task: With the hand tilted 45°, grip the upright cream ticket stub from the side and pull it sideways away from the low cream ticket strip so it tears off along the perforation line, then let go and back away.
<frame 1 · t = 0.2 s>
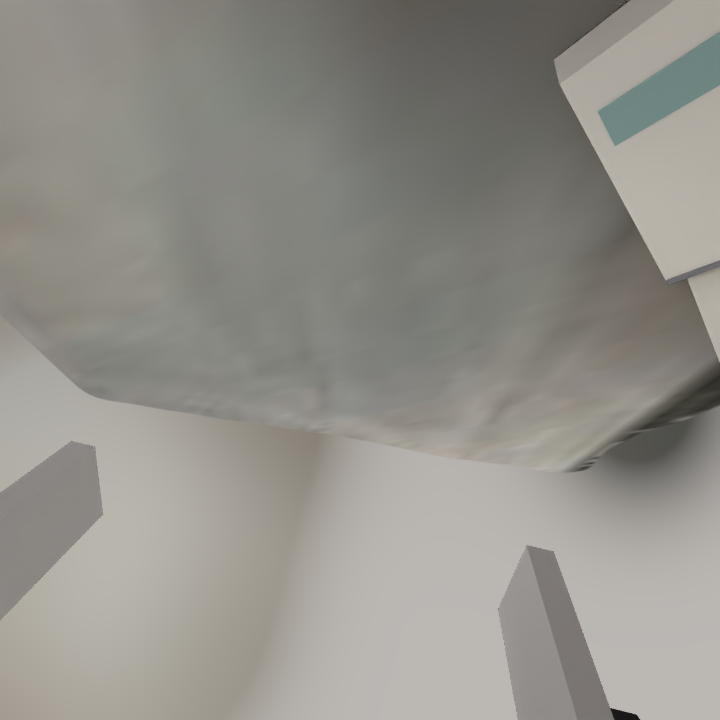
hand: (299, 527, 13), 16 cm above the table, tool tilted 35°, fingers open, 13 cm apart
strip: (696, 130, 17), on the table
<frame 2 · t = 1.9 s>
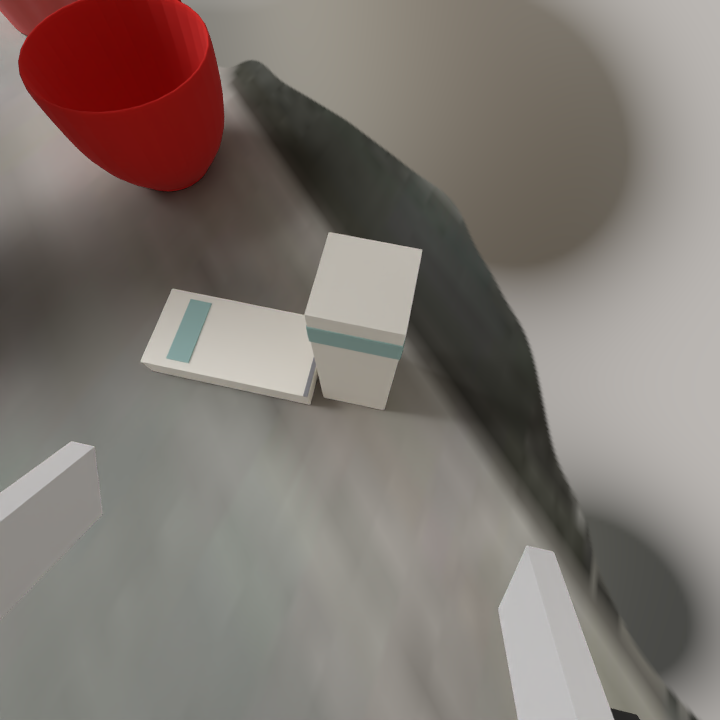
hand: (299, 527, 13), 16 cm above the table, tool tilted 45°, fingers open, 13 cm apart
strip: (243, 350, 31), on the table
ceramic cup: (180, 149, 39), on the table
stub: (362, 339, 25), point 6 cm above the table, slide at 0.0 cm
flower pot: (52, 19, 45), on the table
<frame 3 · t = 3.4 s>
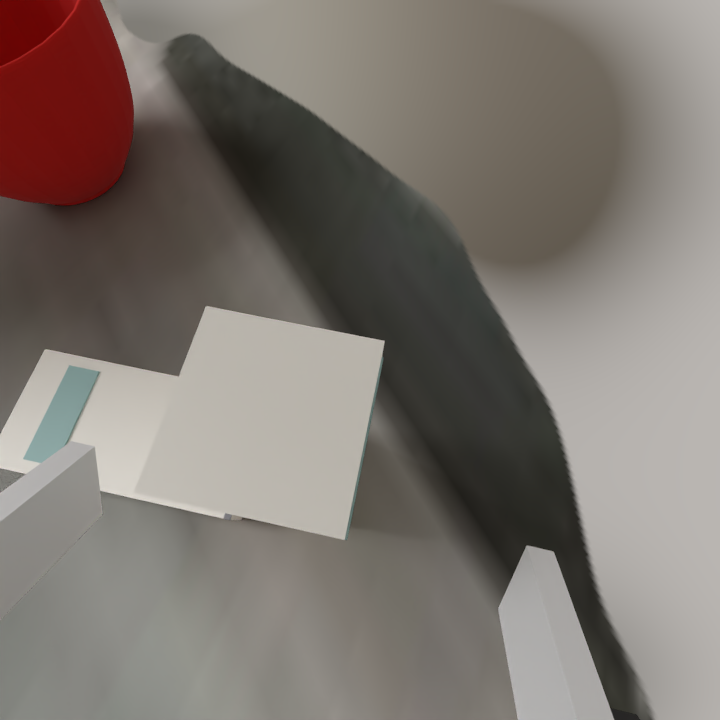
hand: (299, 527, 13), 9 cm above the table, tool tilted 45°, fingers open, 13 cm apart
strip: (150, 436, 22), on the table
ceramic cup: (88, 148, 29), on the table
stub: (301, 453, 15), point 6 cm above the table, slide at 0.0 cm
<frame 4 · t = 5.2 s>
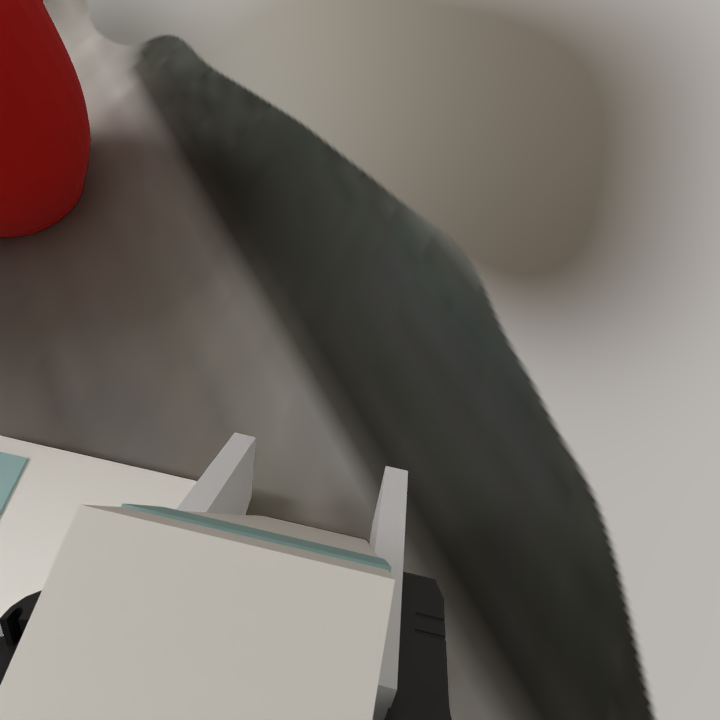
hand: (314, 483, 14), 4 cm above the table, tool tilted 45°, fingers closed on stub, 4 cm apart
strip: (94, 535, 18), on the table
ceramic cup: (42, 168, 25), on the table
stub: (272, 621, 11), point 6 cm above the table, slide at 0.0 cm, touching gripper
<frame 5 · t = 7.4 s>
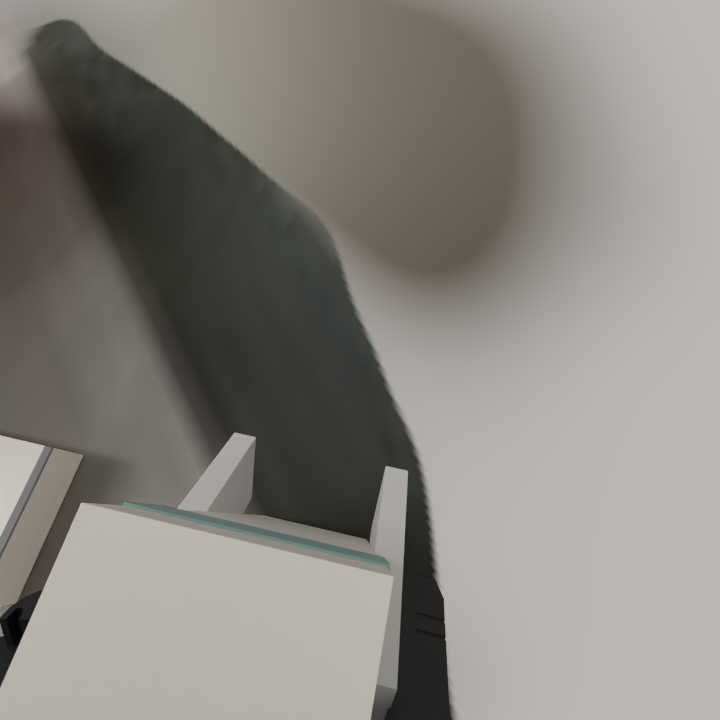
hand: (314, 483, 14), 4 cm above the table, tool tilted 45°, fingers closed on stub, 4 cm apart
stub: (272, 619, 11), point 6 cm above the table, slide at 8.0 cm, touching gripper
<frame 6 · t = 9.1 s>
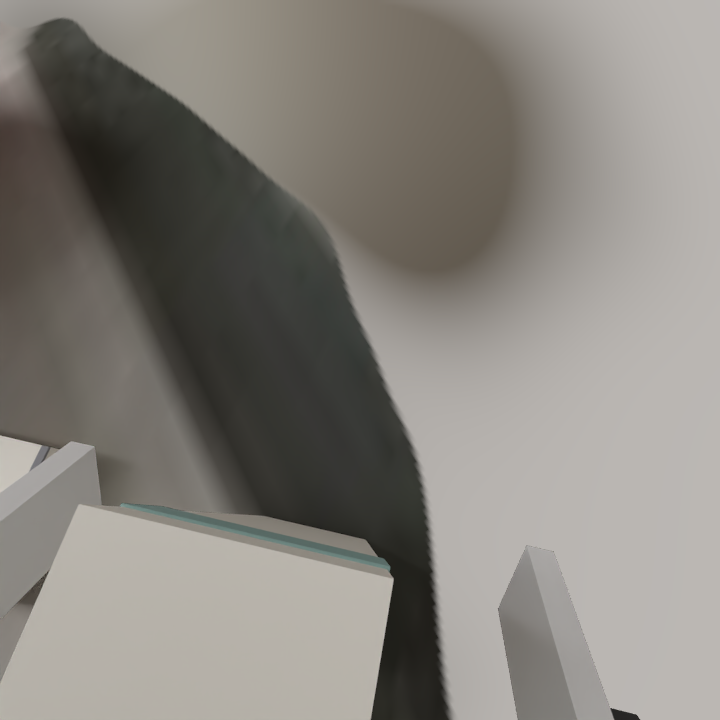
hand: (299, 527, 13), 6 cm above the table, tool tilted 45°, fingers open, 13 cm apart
stub: (271, 620, 11), point 6 cm above the table, slide at 8.0 cm
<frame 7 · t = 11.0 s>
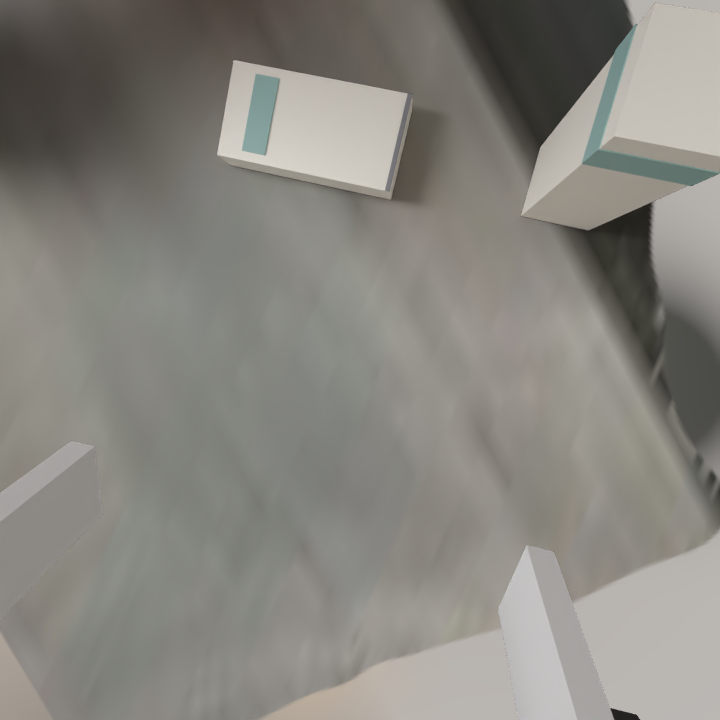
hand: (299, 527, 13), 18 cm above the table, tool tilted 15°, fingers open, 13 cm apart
strip: (318, 138, 29), on the table
stub: (611, 151, 21), point 6 cm above the table, slide at 8.0 cm
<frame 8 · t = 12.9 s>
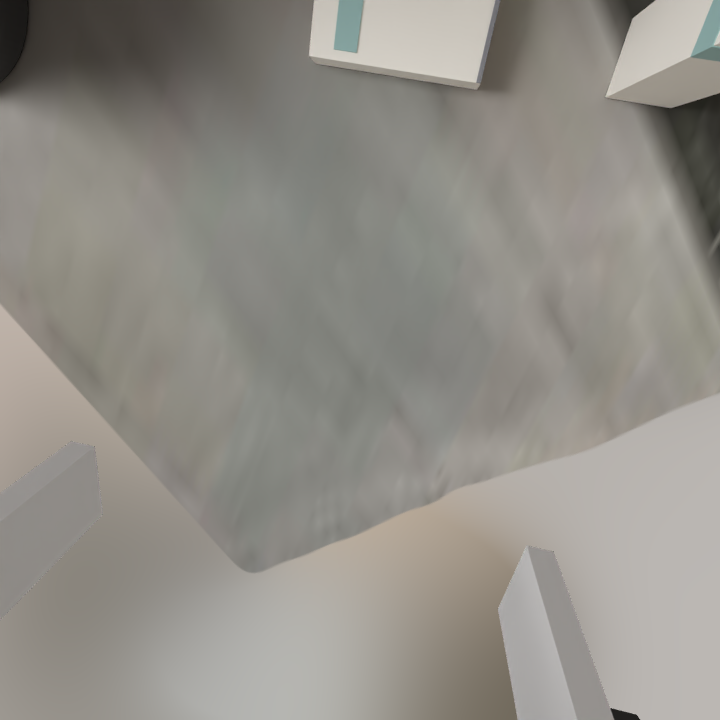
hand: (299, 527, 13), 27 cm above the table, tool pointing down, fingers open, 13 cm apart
strip: (403, 26, 29), on the table
stub: (714, 32, 22), point 7 cm above the table, slide at 8.0 cm
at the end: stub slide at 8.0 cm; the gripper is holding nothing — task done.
